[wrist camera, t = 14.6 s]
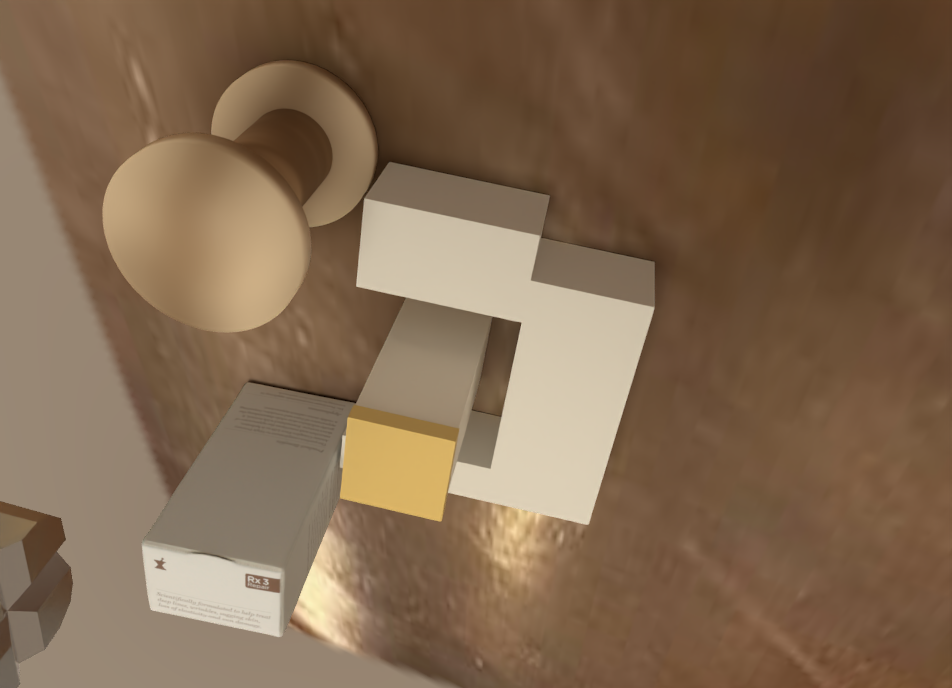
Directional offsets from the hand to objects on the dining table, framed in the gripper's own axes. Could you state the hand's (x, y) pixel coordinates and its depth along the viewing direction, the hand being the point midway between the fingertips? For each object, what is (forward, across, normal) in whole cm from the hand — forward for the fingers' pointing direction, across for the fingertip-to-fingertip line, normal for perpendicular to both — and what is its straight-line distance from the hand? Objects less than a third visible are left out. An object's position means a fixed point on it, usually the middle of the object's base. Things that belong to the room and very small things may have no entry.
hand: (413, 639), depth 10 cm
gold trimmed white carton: (+29, +4, +16) cm, 33 cm away
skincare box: (+29, +11, +23) cm, 38 cm away
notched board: (+29, +2, +15) cm, 33 cm away
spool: (+29, +12, +8) cm, 32 cm away
